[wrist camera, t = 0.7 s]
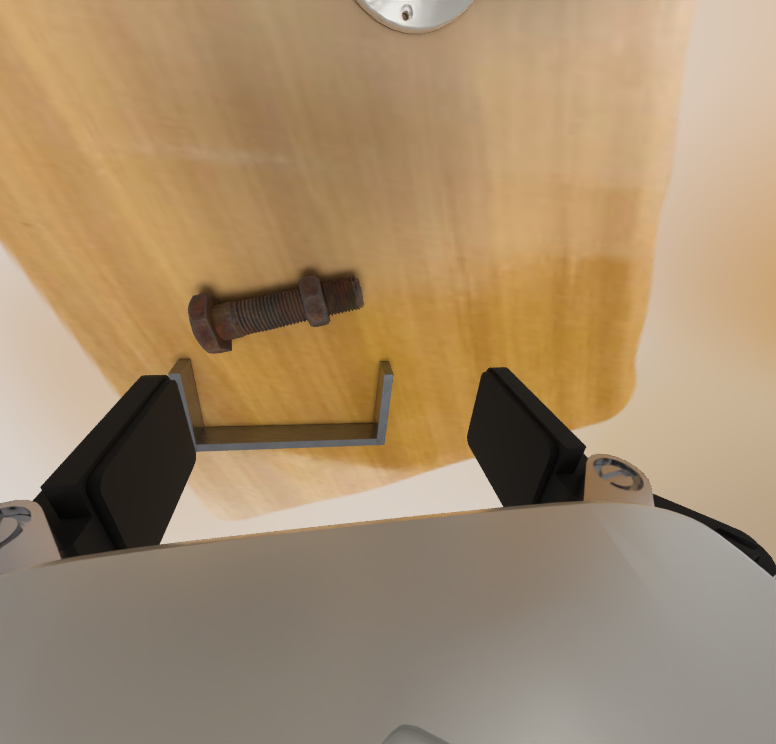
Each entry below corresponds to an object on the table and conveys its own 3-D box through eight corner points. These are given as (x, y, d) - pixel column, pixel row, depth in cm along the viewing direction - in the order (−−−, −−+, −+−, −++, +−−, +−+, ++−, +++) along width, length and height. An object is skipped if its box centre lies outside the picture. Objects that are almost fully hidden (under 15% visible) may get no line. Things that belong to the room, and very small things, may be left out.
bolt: (357, 288, 36) (215, 319, 35) (351, 250, 32) (188, 284, 30) (369, 330, 33) (216, 366, 32) (365, 296, 29) (186, 336, 28)
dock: (179, 358, 35) (168, 373, 32) (388, 361, 39) (393, 374, 37) (196, 434, 40) (187, 451, 37) (380, 428, 44) (384, 444, 41)
